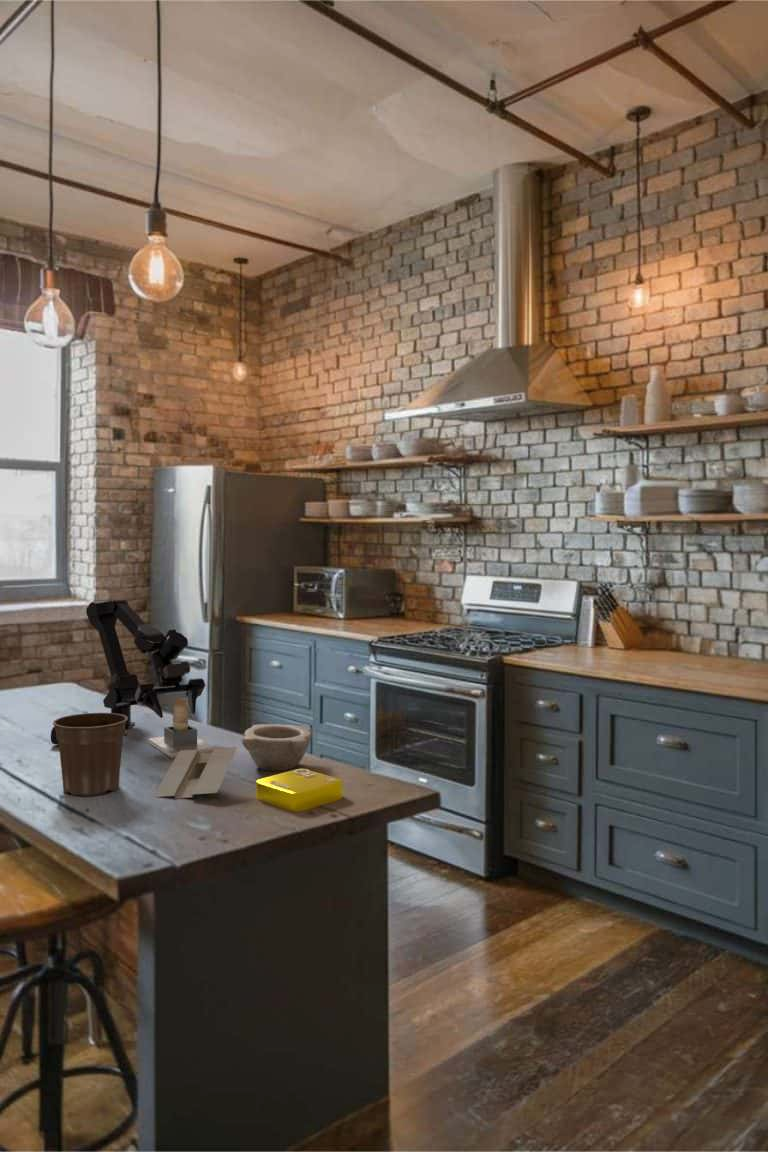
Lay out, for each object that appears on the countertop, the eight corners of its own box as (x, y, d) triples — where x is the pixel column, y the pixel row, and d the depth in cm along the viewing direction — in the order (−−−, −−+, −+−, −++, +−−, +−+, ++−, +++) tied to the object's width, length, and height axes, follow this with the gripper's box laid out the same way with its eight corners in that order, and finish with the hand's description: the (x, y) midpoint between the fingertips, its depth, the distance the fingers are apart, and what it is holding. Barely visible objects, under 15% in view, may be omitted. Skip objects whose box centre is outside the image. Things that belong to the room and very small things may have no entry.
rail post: (175, 740, 239) (175, 697, 238) (189, 741, 239) (189, 698, 238) (171, 744, 235) (171, 700, 234) (185, 744, 235) (185, 700, 234)
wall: (233, 814, 194) (249, 757, 205) (217, 792, 189) (234, 736, 199) (169, 817, 199) (187, 762, 210) (151, 797, 193) (171, 741, 204)
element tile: (251, 799, 194) (251, 778, 193) (301, 785, 205) (301, 765, 205) (296, 814, 184) (296, 792, 183) (346, 799, 195) (346, 778, 194)
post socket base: (148, 743, 241) (148, 724, 241) (189, 737, 248) (189, 719, 247) (171, 757, 226) (171, 737, 226) (214, 751, 233) (214, 732, 233)
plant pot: (53, 782, 203) (53, 714, 202) (125, 775, 209) (125, 709, 208) (53, 802, 188) (52, 729, 187) (130, 795, 194) (130, 724, 193)
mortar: (305, 777, 210) (305, 740, 210) (236, 774, 211) (236, 737, 211) (315, 759, 227) (316, 724, 226) (252, 756, 228) (252, 722, 228)
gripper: (138, 654, 236) (152, 701, 227) (203, 650, 246) (218, 695, 238) (129, 678, 243) (142, 725, 234) (192, 673, 253) (207, 717, 245)
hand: (178, 715), depth 238 cm, fingers open, 9 cm apart
